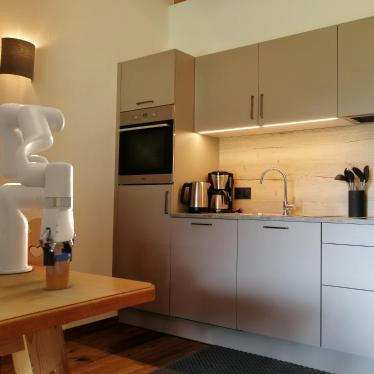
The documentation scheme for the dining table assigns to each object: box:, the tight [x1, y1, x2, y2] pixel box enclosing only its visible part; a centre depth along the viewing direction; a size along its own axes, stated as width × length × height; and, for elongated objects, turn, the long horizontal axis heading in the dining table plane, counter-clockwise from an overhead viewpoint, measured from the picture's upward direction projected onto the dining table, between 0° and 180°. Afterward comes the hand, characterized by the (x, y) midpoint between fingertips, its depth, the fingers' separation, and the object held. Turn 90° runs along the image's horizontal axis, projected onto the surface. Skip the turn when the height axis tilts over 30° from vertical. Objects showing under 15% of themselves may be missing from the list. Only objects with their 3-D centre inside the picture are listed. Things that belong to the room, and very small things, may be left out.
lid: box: [55, 252, 71, 261], centre depth 124 cm, size 7×7×2 cm
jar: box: [45, 259, 71, 291], centre depth 124 cm, size 6×6×9 cm
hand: (58, 263), depth 124 cm, fingers open, 8 cm apart
